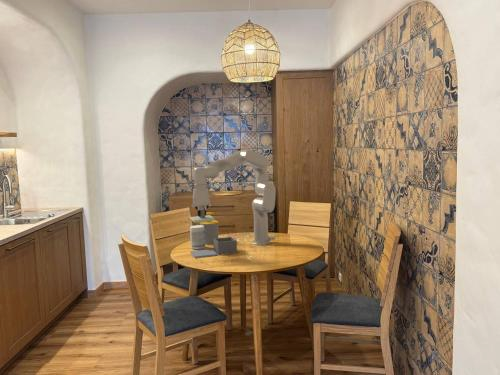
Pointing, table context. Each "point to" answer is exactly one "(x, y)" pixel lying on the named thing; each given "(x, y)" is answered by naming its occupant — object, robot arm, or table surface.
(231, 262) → the table surface
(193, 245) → the supplement tub
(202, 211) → the lid
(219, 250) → the parts tub
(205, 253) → the mat
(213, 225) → the soap bottle
